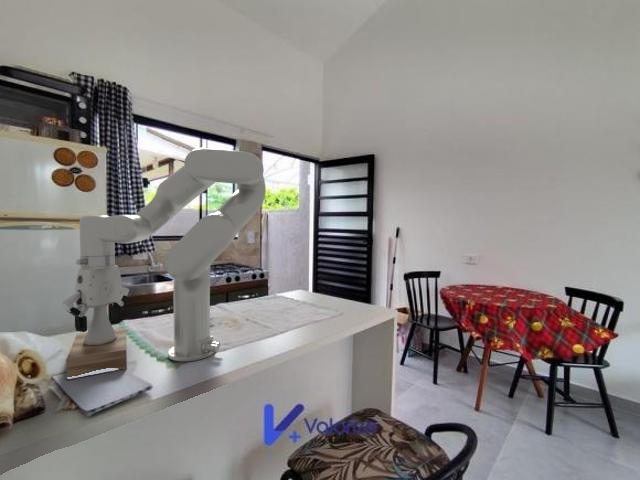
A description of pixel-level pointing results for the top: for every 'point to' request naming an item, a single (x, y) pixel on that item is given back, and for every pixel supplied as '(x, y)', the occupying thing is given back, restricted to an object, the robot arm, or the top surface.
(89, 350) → the walnut riser
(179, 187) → the robot arm
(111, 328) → the flask
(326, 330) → the top surface
